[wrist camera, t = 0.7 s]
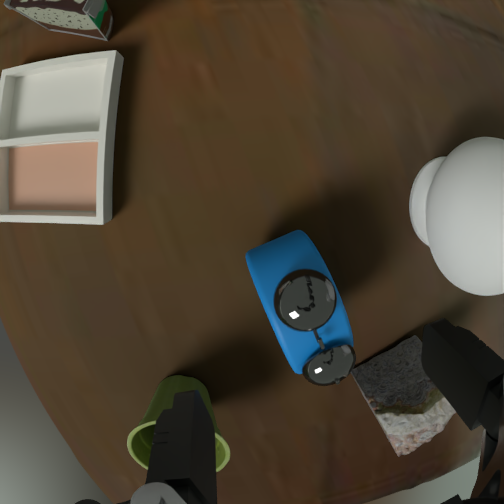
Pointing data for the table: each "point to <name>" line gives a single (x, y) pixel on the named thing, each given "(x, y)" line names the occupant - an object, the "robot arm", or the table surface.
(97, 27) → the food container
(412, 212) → the decorative vase
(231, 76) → the table surface
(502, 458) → the robot arm
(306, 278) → the alarm clock
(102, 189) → the tray
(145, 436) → the plant pot
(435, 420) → the geological specimen
